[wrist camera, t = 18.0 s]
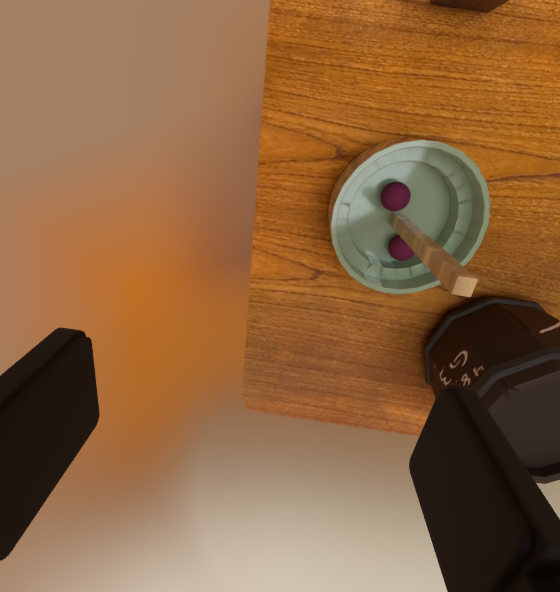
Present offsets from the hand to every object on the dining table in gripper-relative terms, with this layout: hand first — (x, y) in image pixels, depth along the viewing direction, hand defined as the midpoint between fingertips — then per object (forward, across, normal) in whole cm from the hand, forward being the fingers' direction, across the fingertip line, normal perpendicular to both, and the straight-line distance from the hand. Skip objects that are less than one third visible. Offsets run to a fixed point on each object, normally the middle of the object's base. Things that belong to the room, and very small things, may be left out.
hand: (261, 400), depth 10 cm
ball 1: (+34, -12, -1) cm, 36 cm away
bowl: (+36, -13, +1) cm, 39 cm away
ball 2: (+34, -14, +4) cm, 37 cm away
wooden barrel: (+36, -30, +17) cm, 50 cm away
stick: (+26, -13, +2) cm, 29 cm away
